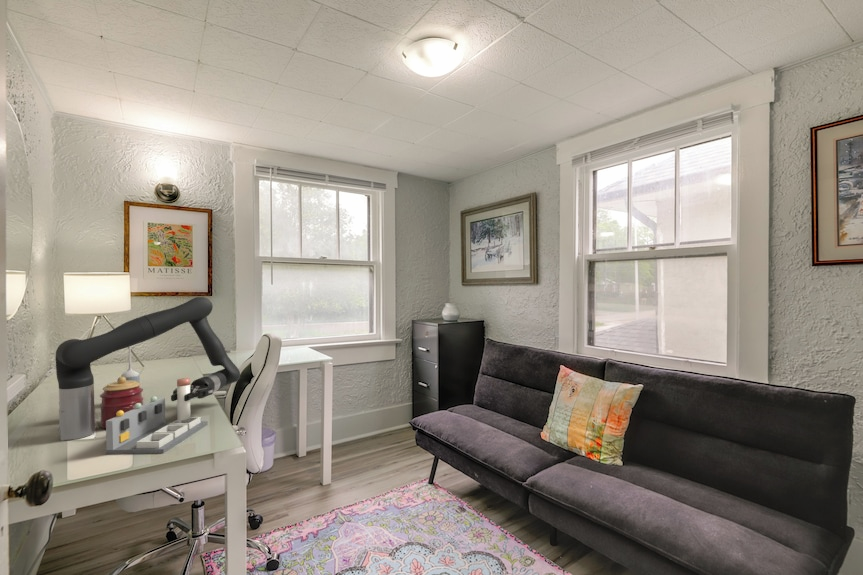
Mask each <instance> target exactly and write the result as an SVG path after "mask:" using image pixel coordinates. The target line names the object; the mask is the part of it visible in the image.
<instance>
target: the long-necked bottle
mask: <svg viewBox="0 0 863 575" xmlns="http://www.w3.org/2000/svg"><path fill="white" fill-rule="evenodd" d="M131 348H132V346H130V347H128V351H126V358H125V359H127V357H128V363H127V360H125V361H126V362H125V363H126V364H125V365H127V364H128V368H127V369H126V371H124V372H123V373H122V374H121V376H120V377H125V378H126V380H134V381H136V382H138V383H140V382H141V381H140V373H139V372H138V371H136V370H135V369H133V368H132V351H131V350H132V349H131ZM127 352H128V356H127ZM139 387H140V388H141V383H140V385H139Z"/></svg>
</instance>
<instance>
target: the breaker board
mask: <svg viewBox="0 0 863 575" xmlns="http://www.w3.org/2000/svg"><path fill="white" fill-rule="evenodd" d="M134 407H135V409H132V410H130V411H128V412H126V413H124V412H123V411H122V410H120V411H118V412H117V413H116V417H114V418H112V419H109V420H107V421H106V429H105V435H106V439H105V440H106V449H105V451H104V454H105V455H121V454H122V455H123V454H124V455H127V454H131V455H132V454H164V453H166V452H168V451H170V450H171V449H172V448H174V447H176V446H177V445H179V444H180V443H182V442H183V441H185V440H186V439H188V438H189V437H191V436H192V435H194V434H196V433H197V432H199V431H200V430H201V429H203V428H205V427H206V426H208V423H209V422H208V421H205V420H203V421H201V418H202V417H201V416H190V418H189V419H186V420H177V419H176V420H174V421H166V419H167V418H166V398H165V397H157V396H154V395H153V396H152V397H150V401H149V402H147V403H145V404H144V403H143V405H141V403H136V404H135V406H134Z"/></svg>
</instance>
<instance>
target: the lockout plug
mask: <svg viewBox="0 0 863 575" xmlns="http://www.w3.org/2000/svg"><path fill="white" fill-rule="evenodd" d="M190 385H191V378H189V377H184V378H177V379H176V388H177V400H176V403H177V404H176V406H177V409H176V412H177V415H176V416H177V419H176V420H186V419H189V418H190V417H191V399H190V400H188V401H184V396H185V395H186V394H188V393H190Z"/></svg>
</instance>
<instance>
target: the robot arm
mask: <svg viewBox="0 0 863 575" xmlns="http://www.w3.org/2000/svg"><path fill="white" fill-rule="evenodd" d="M213 306H214V305H213V303H212V301H211V300H210V299H208V298H206V297H203V296H196V297H193V298H192V299H189V300H188V301H186V302H184V303H181V304H179V305H177V306H174V307H171V308H166V309H164V310H158V311H154V312H151V313H149V314H145V315H143V316H142V315H141V316H139V317H136V318H133V319H131V320H128V321H126V322H124V323H122V324H120V325H119V326H117V327H115V328H113V329H112V330H109V331H108V332H106V333H102V334H100V335H99V334H98V335H96V336H92V337H89V338H86V339H79V338H73V339H67V340H65V341H63V342H61V343H60V344H59V345H58V346H57V348H56V352H55V370H56V372H55V373H56V379H57V383H58V406H59V408H58V422H59V439H60V441H61V442H62V441H69V440H70V441H71V440H77V439H82V438H85V436H86V437H89V436H91V435H93V434H95V433H96V419H95V418H96V416H95V414H96V413H95V410H96V409H95V380H94V378H95V377H94V374H93V372H92V368H91V364H92V363H93V362H95V361H97V360H99V359H100V360H101V359H102V358H103V357H105V356H107V355H111V354H112V353H114V352H117V351H120V350H122V349H127V348H129V347H132V346H134V345H135V346H136V345H138V344H140V343H144V342H147V341H149V340H151V339H155V338H156V337H159V336H161V335H162V334H165V333H166V332H170V331H171V330H173V329H175V328H176V327H178V326H180V325H181V326H182V325H184V324H185V323H189V324H190V326H191V327H192V328H193V330H194V331H195V334H196V335H197V337H198V339H199V341H200V343H201V345H202V346H203V349H204V351H205V354H206V356H207V359H208V361H209V362H210V364H211V366H212V367H218V366H221V367H223V368H222V369H220V370H218V371H215V372H213V373H211V374H207V375H204V376H202V377H200V378H199V377H198V378H197V379H194V380H193V381H192V382H190V393H188V394H186V395H185V396H184V401H188V400H190V401H191V400H194V399H205V398H206V397H208V396H209V397H210V396H213V395H214V393H215V392H217V391H218V390H221V389H222V388H224V387H226V386H228V385H230V384H234V383H236V382H238V381H239V380H240V379H241V372H240V369H239V368H238V367H237V365H236V364H235V363H234V362H233V360H232V359H231V358H230V357H229V355H228V354H227V351H226V350H225V347H224V344H223V342H222V341H221V339H220V338H219V337H218V335H217V334H216V333H215V332H214V330H213V329H212V328H211V327H212V326H210V323H209V321H208V320H209V319H208V316H209V315H210V314H211V313H212V311H213ZM170 400H171V402H175V401H176V402H177V387H176V388H175V389H174V390H173V391H172V394H171V395H170Z"/></svg>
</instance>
